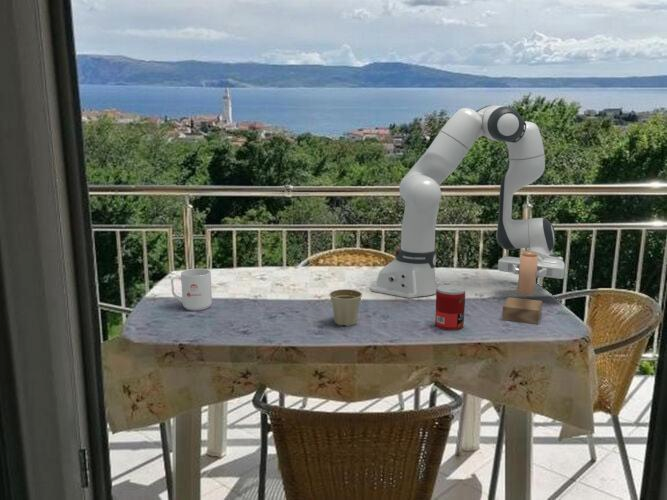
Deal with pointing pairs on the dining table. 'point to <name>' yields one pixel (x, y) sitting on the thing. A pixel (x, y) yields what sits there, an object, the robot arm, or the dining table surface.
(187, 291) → the mug
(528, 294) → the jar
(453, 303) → the canned food
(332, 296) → the flower pot
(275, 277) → the dining table surface
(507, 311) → the pedestal
